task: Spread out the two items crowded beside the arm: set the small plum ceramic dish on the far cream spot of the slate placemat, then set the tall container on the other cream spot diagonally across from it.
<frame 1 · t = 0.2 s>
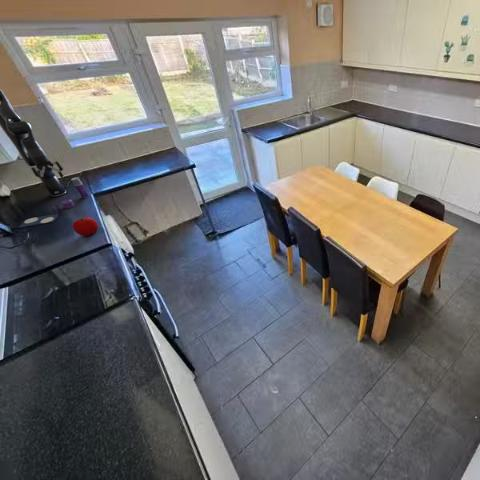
hand: (54, 179, 180), 22 cm above the worktop, tool pointing down, fingers open, 8 cm apart
mat: (39, 220, 181), on the worktop
container: (86, 196, 208), on the worktop
tomato: (90, 233, 168), on the worktop
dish: (69, 206, 196), on the worktop
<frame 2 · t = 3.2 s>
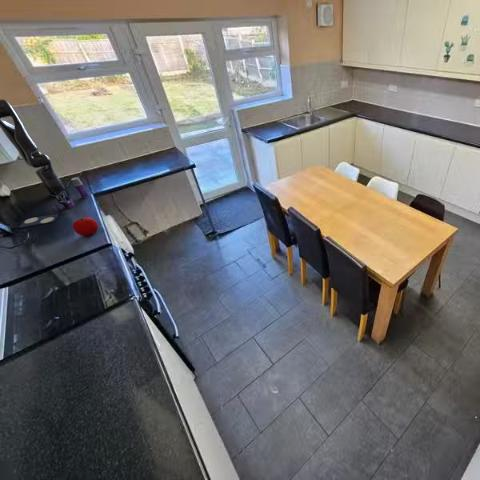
hand: (69, 205, 195), 1 cm above the worktop, tool pointing down, fingers closed on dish, 6 cm apart
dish: (69, 206, 196), on the worktop, touching gripper
everything else where it was.
when the fingers open (1 cm above the worktop, at t = 10.3 s): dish stays where it is, resting on mat.
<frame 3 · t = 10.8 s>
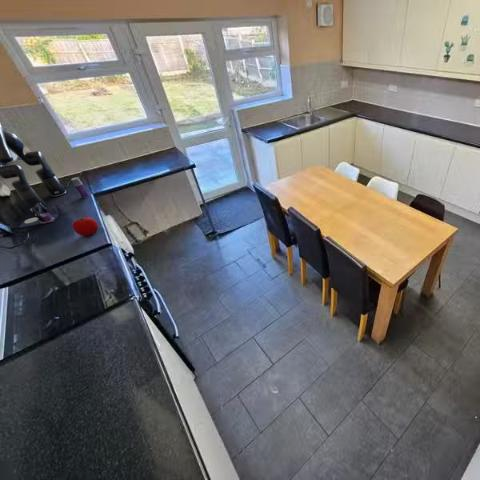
hand: (45, 217, 180), 2 cm above the worktop, tool pointing down, fingers open, 8 cm apart
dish: (47, 220, 181), resting on mat
everything else where it was.
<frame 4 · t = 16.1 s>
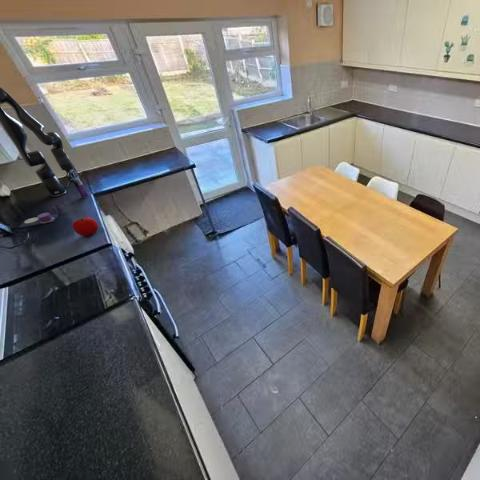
hand: (78, 184, 201), 10 cm above the worktop, tool pointing down, fingers closed on container, 4 cm apart
container: (86, 196, 208), on the worktop, touching gripper
everything else where it was.
when the fingers open (11 cm above the worktop, at t = 24.7 s): container stays where it is, resting on mat.
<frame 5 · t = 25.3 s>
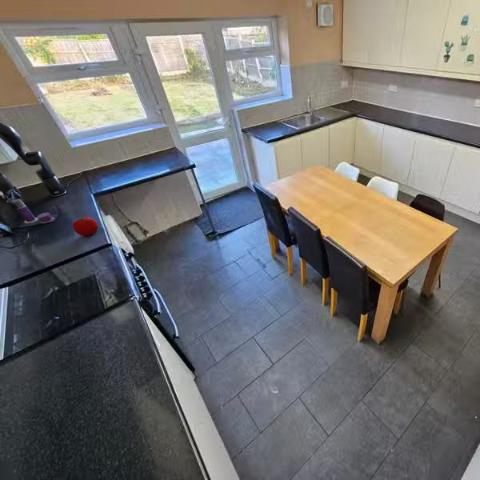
hand: (19, 205, 174), 12 cm above the worktop, tool pointing down, fingers open, 8 cm apart
container: (31, 220, 181), resting on mat
everything else where it was.
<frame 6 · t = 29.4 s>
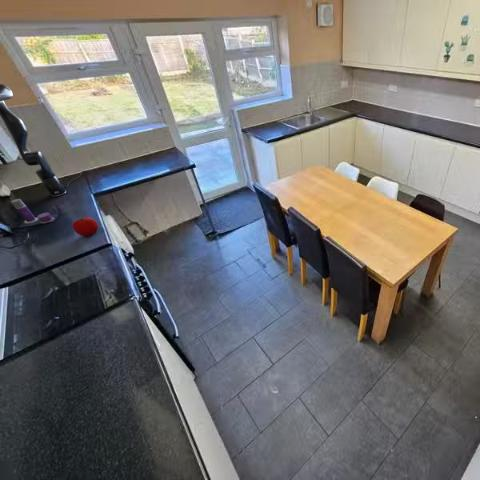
hand: (2, 166, 174), 32 cm above the worktop, tool pointing down, fingers open, 8 cm apart
nothing on the worktop moved.
at the end: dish 0.0 cm from the target spot on the mat, point 0.4 cm above the mat's base; container 0.1 cm from the target spot on the mat, point 0.2 cm above the mat's base; container tilted 0° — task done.
